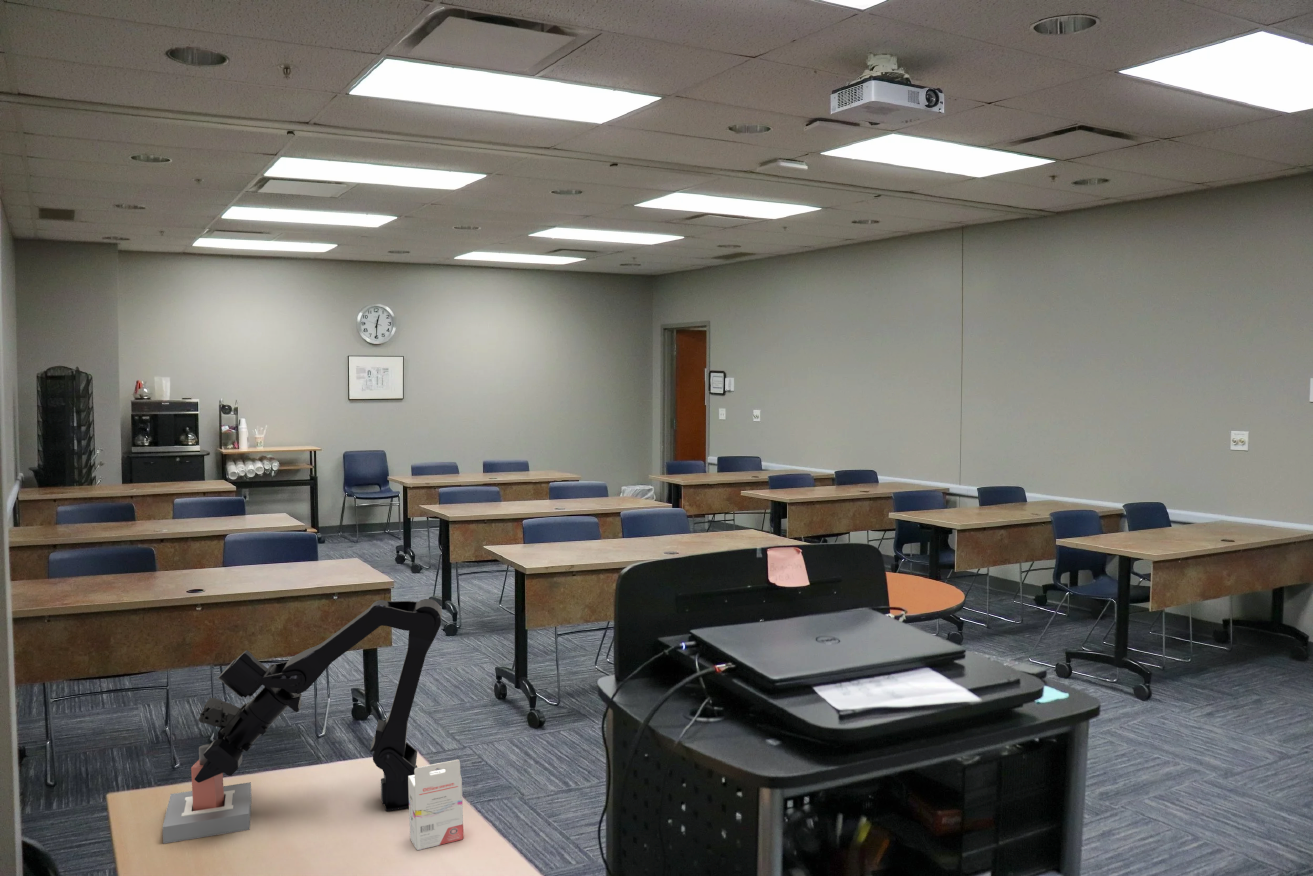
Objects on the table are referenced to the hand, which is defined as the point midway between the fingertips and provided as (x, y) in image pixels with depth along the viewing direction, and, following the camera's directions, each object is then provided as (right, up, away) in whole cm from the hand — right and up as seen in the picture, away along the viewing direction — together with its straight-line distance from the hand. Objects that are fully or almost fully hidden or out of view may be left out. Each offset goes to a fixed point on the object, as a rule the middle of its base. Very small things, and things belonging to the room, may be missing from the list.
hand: (199, 775), depth 179 cm
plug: (+1, -7, +1) cm, 7 cm away
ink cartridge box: (+45, -9, -7) cm, 47 cm away
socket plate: (+1, -8, +1) cm, 9 cm away
